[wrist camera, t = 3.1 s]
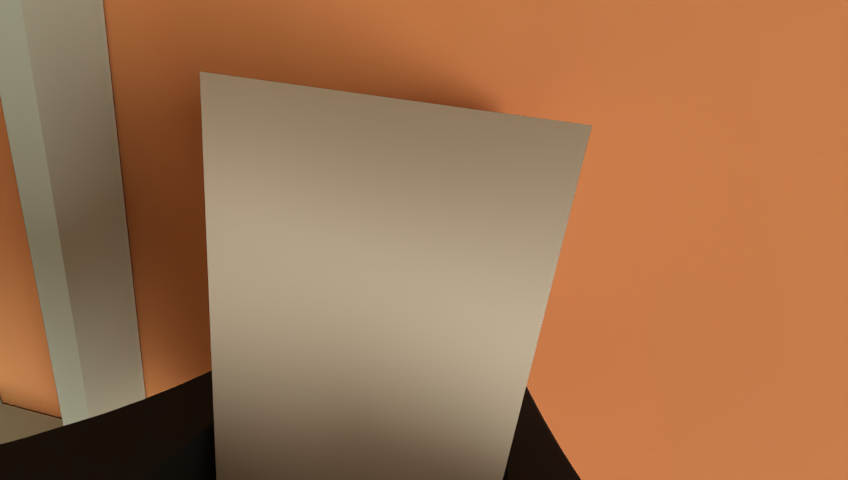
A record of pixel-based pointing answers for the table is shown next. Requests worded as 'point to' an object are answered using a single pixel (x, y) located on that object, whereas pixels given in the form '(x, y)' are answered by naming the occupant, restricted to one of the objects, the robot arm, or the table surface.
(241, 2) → the table surface
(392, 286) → the birch door
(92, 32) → the sage cabinet frame
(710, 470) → the table surface
